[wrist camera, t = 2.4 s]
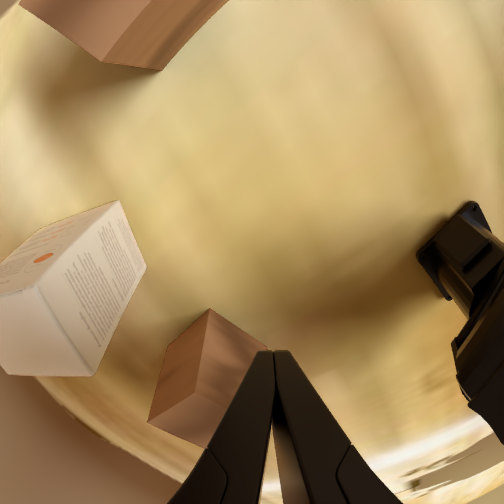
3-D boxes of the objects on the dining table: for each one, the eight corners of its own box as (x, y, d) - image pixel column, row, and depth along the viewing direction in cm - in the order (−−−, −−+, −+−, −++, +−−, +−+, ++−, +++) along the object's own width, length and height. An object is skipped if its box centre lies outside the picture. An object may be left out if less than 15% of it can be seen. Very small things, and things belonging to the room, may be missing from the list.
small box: (70, 284, 23) (7, 377, 14) (40, 225, 21) (-44, 305, 11) (150, 267, 22) (96, 380, 13) (121, 197, 20) (33, 286, 10)
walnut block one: (266, 346, 26) (269, 428, 19) (220, 378, 28) (212, 452, 21) (210, 307, 24) (194, 392, 17) (167, 346, 26) (145, 423, 19)
